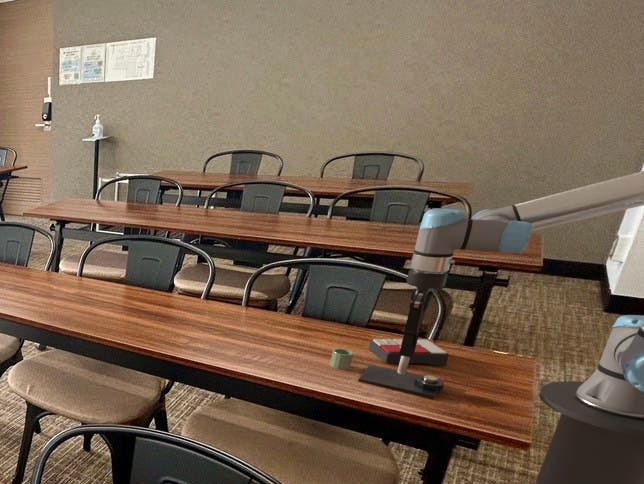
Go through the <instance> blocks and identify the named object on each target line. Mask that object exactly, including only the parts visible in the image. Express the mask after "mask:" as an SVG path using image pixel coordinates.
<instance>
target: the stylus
mask: <svg viewBox="0 0 644 484" xmlns="http://www.w3.org/2000/svg"><path fill="white" fill-rule="evenodd" d="M409 359H410V357H406V356H401V359H400V363H398V367H397V371H398V373H399V374H405V373H407V370H408V366H409V364H410V363H409Z"/></svg>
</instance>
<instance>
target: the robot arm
mask: <svg viewBox="0 0 644 484" xmlns="http://www.w3.org/2000/svg"><path fill="white" fill-rule="evenodd" d="M643 206H644V170H641V171H638V172H634V173H630V174H627V175H622V176H619V177H615V178H610V179H607V180H603V181H600V182H596V183H592V184H588V185H584V186H580V187H577V188H573V189H569V190H566V191H562V192H557V193H554V194H549V195H546V196H543V197H538V198H535V199H530V200H527V201H524V202H523V201H522V202H520V203H516V204H513V205H512V204H511V205H508V206H505V207H501V208H487V209H483V210H480V211H478V212H476V213H475V214H474V215H473V216H472V217H471V218H466V217H465V214H466V213H465V211H463V210H461V209H456V208H432V209H429V210H427V211H426V212H424V214H423V217H422V219H421V223H420V226H419V229H418V234H417V238H416V242H415V247H414V251H413V253H412V257H411V260H410V264H409V267H410V268H411V269H409V270H408V273H407V277H406V281H405V282H406V284H407V285H409V286H410V287H411V286H412V287H415V288H416V289H413V291H411V294H410V302H409V306H408V307H409V310H408V315H407V319H406V322H405V327H404V329H402V330H401V331H400V333H401V334H403V336H402V339H403V341H402V344H401V348H400V352H399V355H401V356H406V357H411V358H412V355H414V352H415V348H416V344H417V341H418V340H419V338H420V337H419V336H420V333H421V332H424V331H425V328H424V327H423V325H424V319H425V316H426V313H427V309H428V308H429V306H430V303H431V301H432V299H433V297H434V294H435V293H434V292H435V291H433V290H432V289H434V290H436V289H442V288H444V287H445V286H446V284H447V278H448V276H449V274H448V271H449V270H450V267H451V264H452V265H453V264H455V262H456V261H455V259H453V257H454V255H455V250H461V251H473V252H474V251H476V252H487V253H498V254H499V253H500V254H521V253H523V252H524V251H525V250H526V249H527V247H528V245H529V243H530V239H531V235H532V232H535V231H540V230H544V229H548V228H552V227H556V226H557V227H558V226H561V225H565V224H569V223H574V222H578V221H582V220H587V219H591V218H595V217H600V216H604V215H608V214H612V213H616V212H621V211H626V210H629V209H630V210H631V209H635V208H637V207H638V208H639V207H643ZM583 382H584V383H583V384H582V385H581V386H580V387H579V388H578V390H577V392H576V394H575V398H576V399H577V400H578V401H579V402H580V403H582V404H584V405H586V406H588V407H590V408H593V409H595V410H598V411H601V412H604V413H608V414H611V415H615V416H620V417H624V418H630V419H637V420H644V315H639V314H637V315H636V314H626V315H622V316H619V317H618V318H617V319H616V320H615V322H614V324H613V325H612V326H611V332H610V334H609V336H608V340H607V342H606V344H605V347H604V350H603V351H602V355H601V357H600V360H599V363H598V365H597V367H596V370H595V371H594V372H593V373H592V374H591V375H590V376H588V377H587V378H586V379H585V380H584V381H583Z"/></svg>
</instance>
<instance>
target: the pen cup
mask: <svg viewBox="0 0 644 484" xmlns="http://www.w3.org/2000/svg"><path fill="white" fill-rule="evenodd" d="M353 358H354V352H353V351H352V350H349V349H345V348H334V349H332V353H331V357H330V362H329V366H330V367H331V368H334V369H337V370H342V371H347V370H350V369H351V367H352V363H353Z"/></svg>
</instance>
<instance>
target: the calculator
mask: <svg viewBox="0 0 644 484" xmlns="http://www.w3.org/2000/svg"><path fill="white" fill-rule="evenodd" d="M402 341H403V338H393V339H392V338H373V339H370V340H369V346H368V350H369V351H371V352H372V353H373V354H374V355H376V356H377V357H378V358H379V359H380V360H381V361H383V362H384V363H386V364H399V363H400V359H401V355H399V352H400V348H401V344H402ZM449 355H450V354H449V353H448V352H446V351H445V350H444V349H442V348H440V347H439V346H438V345H436V344H435V343H433V342H431V341H430V340H429V339H418V341H417V344H416V348H415V352H414V355H412V358H411V357H410V359H409V363H408V364H428V365H429V366H447V364H448V361H449V360H448V359H449Z"/></svg>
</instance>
